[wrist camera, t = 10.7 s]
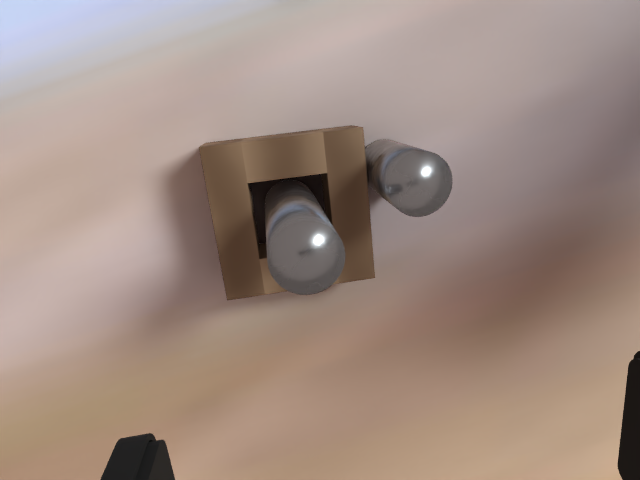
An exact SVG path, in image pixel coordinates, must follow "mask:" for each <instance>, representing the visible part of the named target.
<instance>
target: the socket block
mask: <svg viewBox="0 0 640 480" xmlns="http://www.w3.org/2000/svg"><path fill="white" fill-rule="evenodd" d="M199 150H200V156H201V161H202V167H203V172H204V177H205V183H206V188H207V194H208V199H209V204H210V210H211V215H212V221H213V226H214V231H215V237H216V242H217V248H218V253H219V258H220V264H221V269H222V275H223V280H224V285H225V291H226V296H227V300H233V299H239V298H246V297H252V296H259V295H266V294H272V293H279V292H285V291H287V290H285V289H284V288H282V287H281V286H280V285H279V284H278V283H277V282H276V281H275V280H274V279H273V277H272V275H271V274H270V271H269V268H268V263H267V245H266V243H262V244H259V238H258V231H257V225H256V218H255V212H254V206H253V199H252V193H251V186H250V183H254V182H261V181H269V180H277V179H285V178H292V177H300V176H308V175H315V174H321V179H322V188H323V197H324V206H325V214H326V216H327V217H328V219H329V221H330V222H331V224H332V225H333V227H334V229H335V230H336V232H337V233H338V235H339V237H340V238H341V240H342V242H343V245H344V248H345V264H344V268H343V270H342V272H341V274H340V276H339V277H338V279H337V280H336V281H335V282H334V283H333V284H338V283H344V282H351V281H357V280H364V279H371V278H375V272H374V260H373V247H372V234H371V222H370V209H369V197H368V184H367V171H366V159H365V146H364V133H363V127H358V126H352V125H351V126H343V127H335V128H326V129H318V130H310V131H301V132H293V133H285V134H276V135H268V136H260V137H251V138H243V139H235V140H226V141H218V142H210V143H205V144H203V145H202V146H200V147H199Z"/></svg>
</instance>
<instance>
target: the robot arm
mask: <svg viewBox="0 0 640 480" xmlns="http://www.w3.org/2000/svg"><path fill="white" fill-rule="evenodd" d="M618 470H619V473H620V475H621V477H622V479H623V480H640V351H638V352H637V353H636V354H635V355H634V359H633V360H631V362H630V363H629V366H628V375H627V384H626V393H625V402H624V411H623V420H622V429H621V438H620V448H619V457H618ZM101 480H175V478H174V474H173V470H172V466H171V462H170V458H169V454H168V450H167V446H166V443H165V441H164V440H158V441H156V439H155V437H154V435H153V434H151V433H150V434H144V435H138V436H132V437H126V438H121V439H119V440H118V442H117V443H116V445H115V448H114V450H113V452H112V454H111V457H110V459H109V461H108V464H107V466H106V468H105V470H104V473H103V475H102V477H101Z"/></svg>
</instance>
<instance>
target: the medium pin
mask: <svg viewBox="0 0 640 480" xmlns="http://www.w3.org/2000/svg"><path fill="white" fill-rule="evenodd" d="M365 159H366V171H367V184H368V186H369V187H370V188H371V189H373V190H374V191H375V192H376V193H378V194H379V195H380V196H382V197H383V198H384V199H385V200H387V201H388V202H389V203H390V204H392V205H393V206H394V207H395V208H397V209H398V210H399V211H401V212H402V213H404V214H406V215H409V216H414V217H421V216H426V215H429V214H431V213H433V212H435V211H437V210H438V209H439V208H440V207H441V206H442V205H443V204H444V203H445V202H446V200H447V199H448V197H449V194H450V192H451V188H452V174H451V171H450V168H449V166H448V164H447V163H446V162H445V160H444V159H443V158H441V157H440V156H439V155H437V154H435V153H432V152H429V151H426V150H422V149H419V148H415V147H412V146H409V145H405V144H402V143H398V142H395V141H392V140H386V139H383V140H377V141H374V142H372V143H371V144H369V145H368V146H367V147H366V148H365Z"/></svg>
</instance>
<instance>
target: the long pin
mask: <svg viewBox="0 0 640 480" xmlns="http://www.w3.org/2000/svg"><path fill="white" fill-rule="evenodd" d="M265 225H266V245H267V263H268V268H269V271H270V274H271V275H272V277H273V279H274V280H275V281H276V282H277V283H278V284H279V285H280V286H281V287H282V288H284V289H285V290H287V291H289V292H292V293H295V294H301V295H308V294H315V293H318V292H321V291H323V290H325V289H327V288H328V287H330V286H331V285H332V284H333V283H334V282H335V281H336V280H337V279H338V277H339V276H340V274H341V272H342V270H343V268H344V264H345V248H344V245H343V242H342V240H341V238H340V237H339V235H338V233H337V232H336V230H335V229H334V227H333V225H332V224H331V222H330V221H329V219H328V217H327V216H326V214H325V212H324V211H323V209H322V208H321V206H320V204H319V203H318V201H317V200H316V198H315V196H314V195H313V193H312V192H311V190H310V189H309V188H308V187H307V186H306V185H305V184H303V183H302V182H299V181H296V180H284V181H281V182H278V183H277V184H275V185H274V186H273V187H272V188H271V189H270V190H269V191H268V193H267V195H266V198H265Z"/></svg>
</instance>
